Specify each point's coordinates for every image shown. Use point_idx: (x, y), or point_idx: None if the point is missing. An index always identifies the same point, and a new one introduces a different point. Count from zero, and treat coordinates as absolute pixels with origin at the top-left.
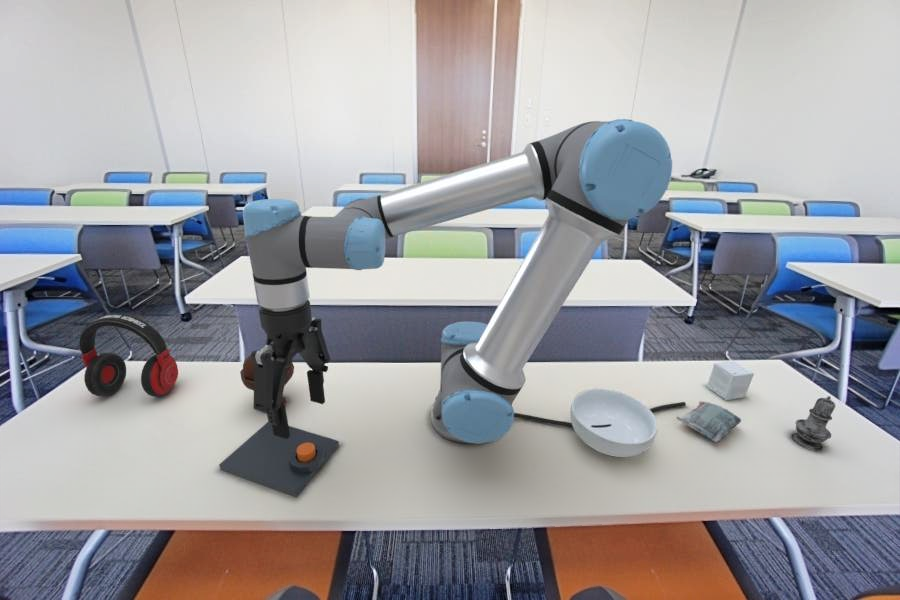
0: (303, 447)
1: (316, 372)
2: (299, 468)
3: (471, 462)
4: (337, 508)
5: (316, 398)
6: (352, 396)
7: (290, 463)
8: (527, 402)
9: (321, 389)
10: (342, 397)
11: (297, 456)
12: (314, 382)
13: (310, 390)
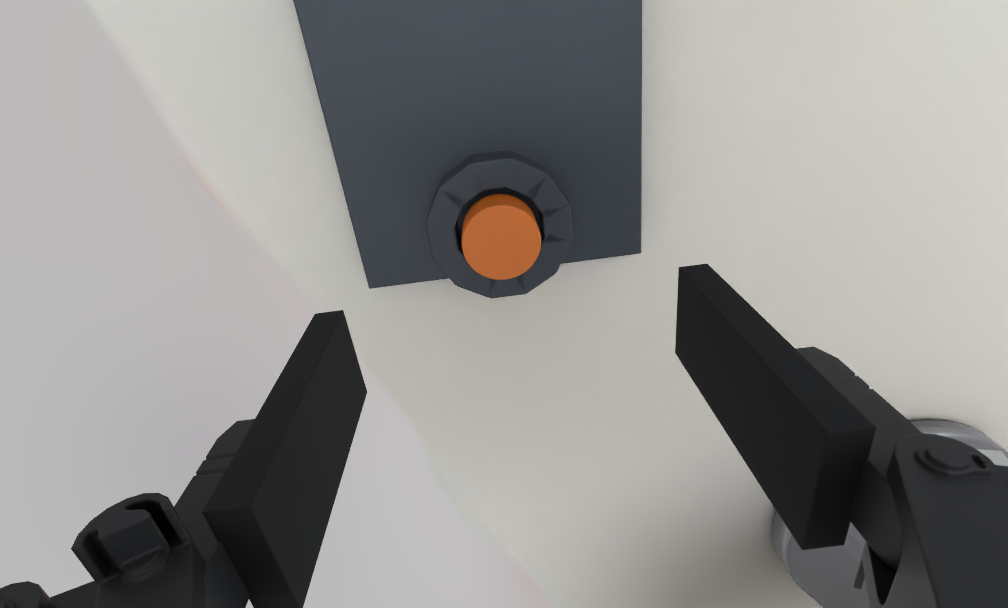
0: (502, 231)
1: (839, 509)
2: (433, 256)
3: (710, 571)
4: (418, 399)
5: (690, 331)
6: (970, 66)
7: (431, 206)
8: None
9: (729, 428)
10: (956, 18)
11: (465, 218)
12: (757, 420)
13: (716, 322)
